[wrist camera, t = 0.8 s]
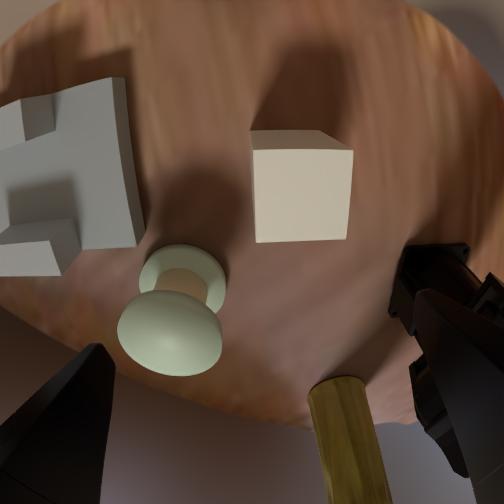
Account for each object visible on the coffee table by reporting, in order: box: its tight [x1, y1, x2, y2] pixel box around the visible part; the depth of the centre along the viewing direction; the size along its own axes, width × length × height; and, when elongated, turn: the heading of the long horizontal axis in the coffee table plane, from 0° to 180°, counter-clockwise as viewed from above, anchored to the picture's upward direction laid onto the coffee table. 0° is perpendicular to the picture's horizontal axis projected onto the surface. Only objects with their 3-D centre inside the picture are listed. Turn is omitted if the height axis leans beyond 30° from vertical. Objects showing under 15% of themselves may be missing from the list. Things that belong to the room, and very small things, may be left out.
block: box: [250, 130, 353, 243], centre depth 15 cm, size 4×4×6 cm
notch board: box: [0, 77, 146, 276], centre depth 15 cm, size 14×10×5 cm
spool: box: [117, 244, 226, 376], centre depth 19 cm, size 6×6×6 cm
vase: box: [307, 376, 393, 504], centre depth 23 cm, size 6×6×14 cm
